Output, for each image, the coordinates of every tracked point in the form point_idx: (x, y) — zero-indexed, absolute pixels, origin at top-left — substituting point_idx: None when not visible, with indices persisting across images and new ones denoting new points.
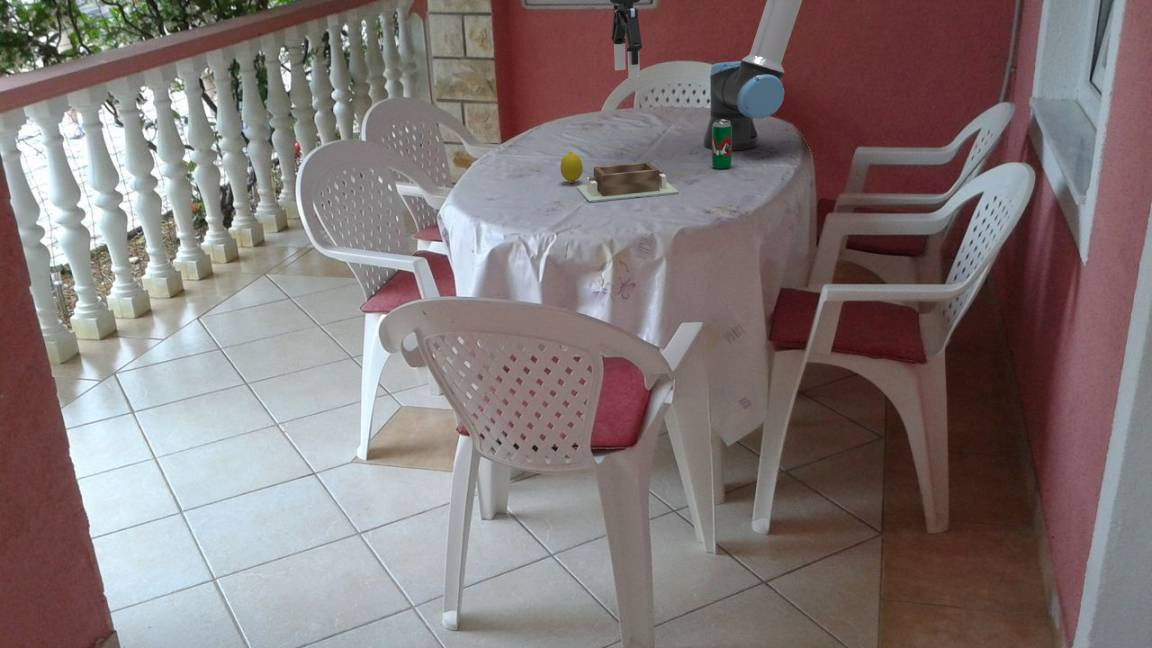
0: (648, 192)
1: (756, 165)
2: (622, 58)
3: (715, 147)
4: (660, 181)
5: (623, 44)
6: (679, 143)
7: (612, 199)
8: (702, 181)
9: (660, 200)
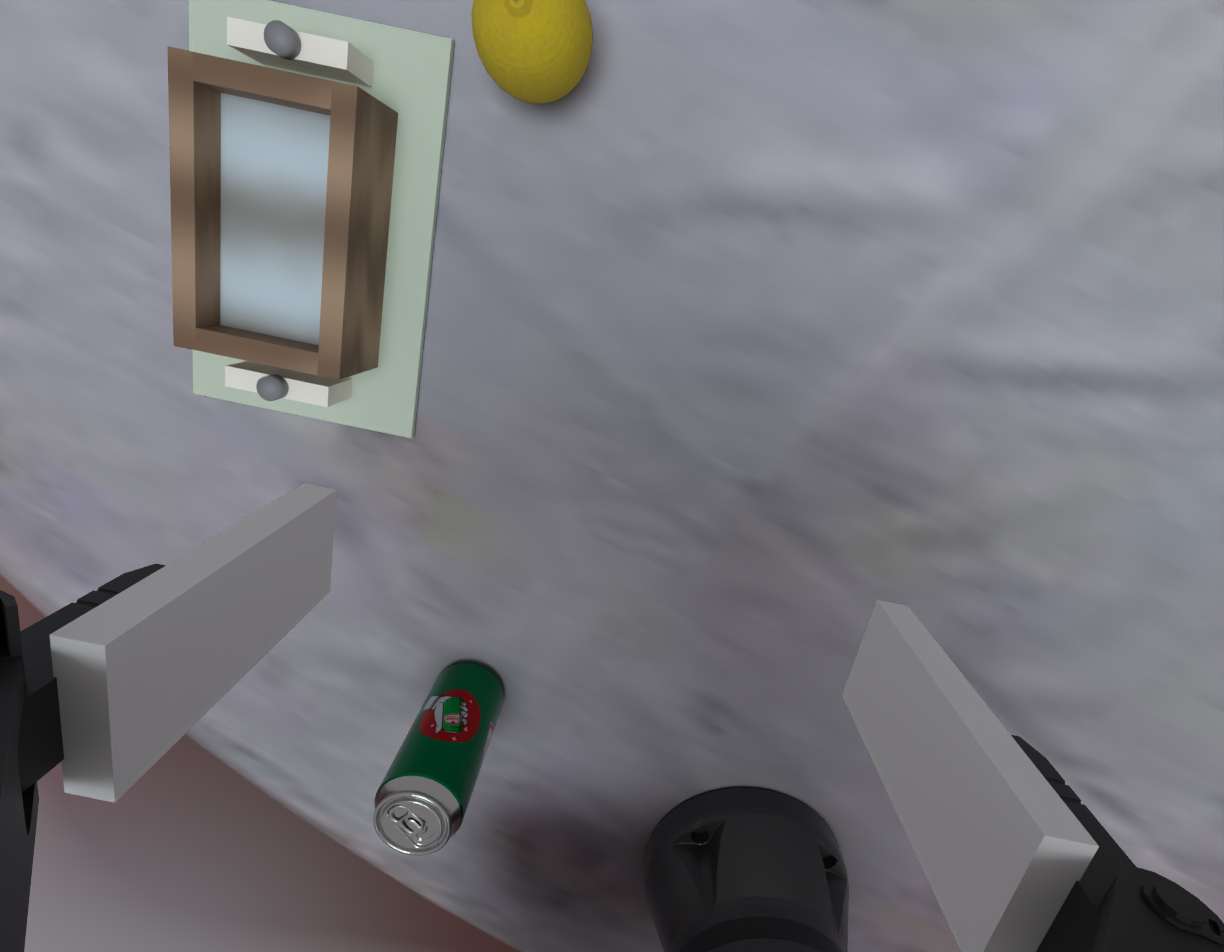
0: None
1: None
2: (897, 756)
3: (431, 712)
4: (259, 366)
5: (977, 946)
6: None
7: None
8: None
9: (134, 287)
